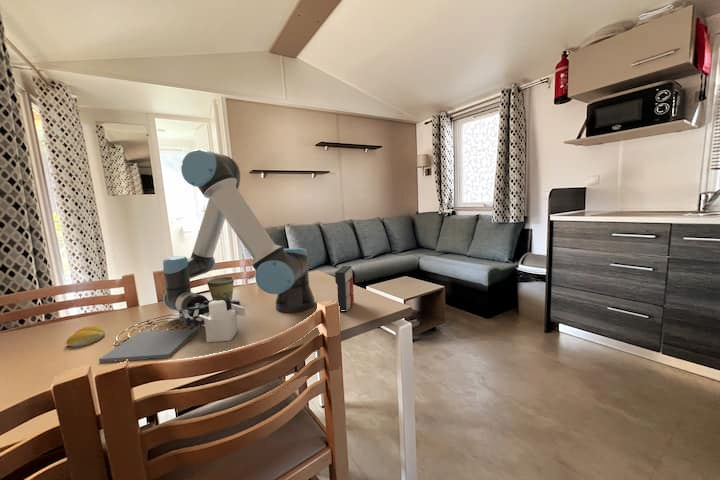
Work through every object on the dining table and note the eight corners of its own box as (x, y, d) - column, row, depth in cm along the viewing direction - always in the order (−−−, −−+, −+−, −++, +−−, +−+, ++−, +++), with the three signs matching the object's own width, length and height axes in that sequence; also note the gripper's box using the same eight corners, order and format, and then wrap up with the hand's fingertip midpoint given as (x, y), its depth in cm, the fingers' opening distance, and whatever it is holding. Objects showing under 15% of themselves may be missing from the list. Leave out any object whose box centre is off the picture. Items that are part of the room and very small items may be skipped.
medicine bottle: (215, 332, 94) (211, 296, 93) (238, 330, 95) (235, 294, 93) (206, 342, 87) (201, 304, 86) (230, 340, 88) (226, 302, 86)
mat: (197, 331, 95) (197, 328, 95) (169, 357, 79) (169, 354, 79) (139, 335, 94) (138, 332, 94) (99, 362, 78) (98, 359, 78)
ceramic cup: (229, 306, 117) (227, 282, 116) (204, 307, 117) (202, 283, 116) (242, 296, 130) (240, 274, 129) (220, 297, 130) (218, 275, 129)
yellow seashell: (62, 350, 86) (59, 337, 86) (78, 337, 95) (76, 325, 94) (96, 344, 89) (94, 332, 89) (109, 332, 97) (108, 321, 97)
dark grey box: (348, 312, 107) (346, 272, 105) (336, 312, 108) (334, 272, 106) (354, 302, 118) (353, 265, 116) (344, 301, 118) (342, 265, 116)
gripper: (224, 305, 110) (261, 316, 97) (157, 326, 92) (191, 345, 79) (222, 285, 109) (259, 295, 96) (154, 304, 91) (187, 318, 78)
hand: (228, 317), depth 88 cm, fingers closed on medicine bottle, 10 cm apart
